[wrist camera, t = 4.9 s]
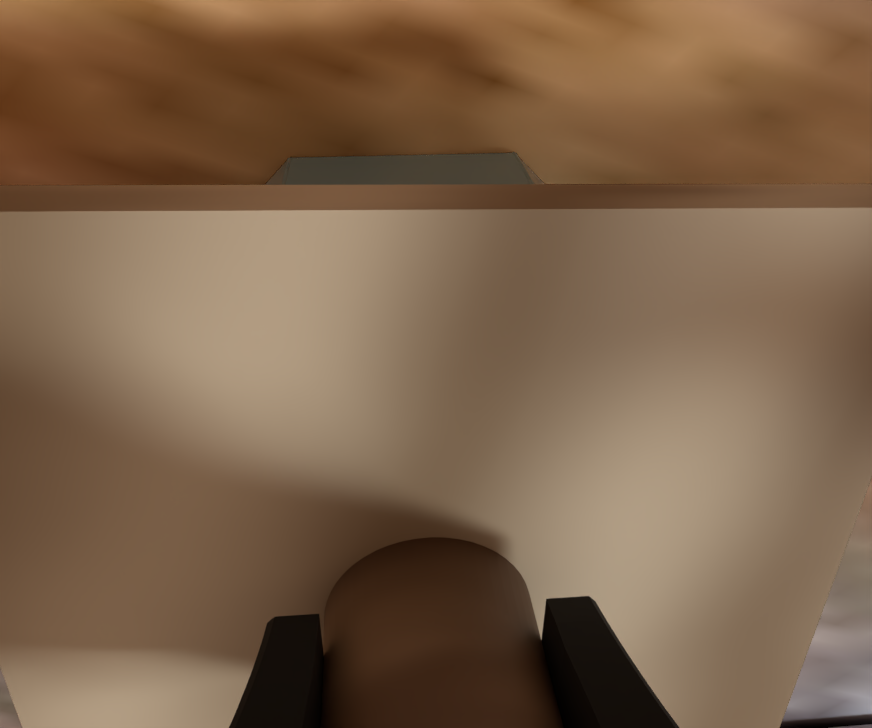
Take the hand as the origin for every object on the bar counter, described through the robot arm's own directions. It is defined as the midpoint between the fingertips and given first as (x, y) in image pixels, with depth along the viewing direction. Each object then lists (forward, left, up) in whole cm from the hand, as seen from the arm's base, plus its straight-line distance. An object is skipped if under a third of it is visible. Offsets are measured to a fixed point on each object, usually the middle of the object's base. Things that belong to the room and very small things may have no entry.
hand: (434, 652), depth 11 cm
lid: (0, 0, -2) cm, 2 cm away
